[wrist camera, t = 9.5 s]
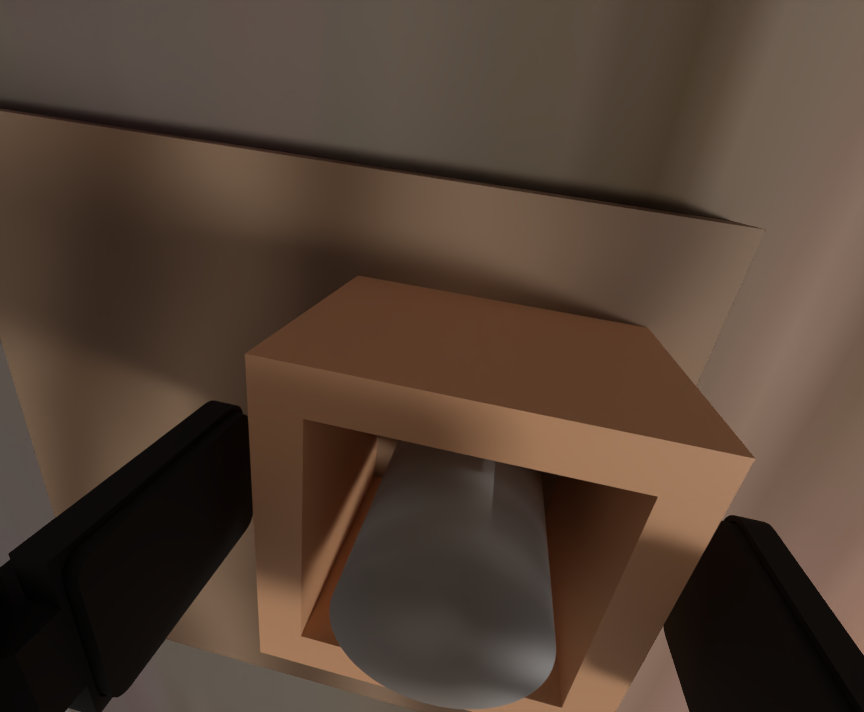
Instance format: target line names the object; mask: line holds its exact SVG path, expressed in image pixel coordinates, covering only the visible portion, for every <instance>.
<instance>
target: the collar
mask: <svg viewBox="0 0 864 712" xmlns="http://www.w3.org/2000/svg"><path fill="white" fill-rule="evenodd" d="M245 367H246V387H247V406H248V425H249V444H250V463H251V482H252V501H253V521H254V540H255V559H256V578H257V597H258V616H259V635H260V652H262V653H265V654H269V655H273V656H276V657H280V658H283V659H287V660H290V661H294V662H297V663H301V664H305V665H308V666H312V667H315V668H319V669H322V670H326V671H329V672H333V673H336V674H340V675H344V676H347V677H351V678H354V679H358V680H361V681H365V682H368V683H372V684H376V685H379V686H383V685H381V684H380V683H378V682H376V681H375V680H373V679H372V678H371V677H369V676H368V675H367V674H365V673H364V672H363V671H362V670H361V669H359V668H358V667H357V666H356V665H355V664H354V663H353V662H352V661H351V660H350V659H349V657H348V656H347V655H346V654H345V652H344V651H343V650H342V648H341V647H340V645H339V643H338V641H337V640H336V638H335V635H334V633H333V630H332V627H331V622H330V612H329V609H330V602H331V598H332V595H333V593H334V590H335V588H336V585H337V583H338V581H339V578H340V576H341V574H342V571H343V569H344V567H345V564H346V562H347V560H348V557H349V555H350V553H351V550H352V548H353V546H354V543H355V541H356V539H357V536H358V534H359V532H360V529H361V527H362V525H363V522H364V520H365V518H366V515H367V513H368V511H369V508H370V506H371V504H372V501H373V499H374V497H375V494H376V492H377V490H378V487H379V485H380V483H381V480H382V478H380V477H375V476H374V472H375V462H376V452H377V442H378V435H379V436H383V437H388V438H392V439H397V440H402V441H406V442H411V443H415V444H420V445H424V446H429V447H434V448H438V449H443V450H447V451H452V452H456V453H461V454H465V455H470V456H475V457H479V458H484V459H488V460H493V461H497V462H502V463H506V464H511V465H516V466H520V467H525V468H529V469H534V470H538V471H543V472H548V473H552V474H557V475H558V478H557V481H556V484H555V488H554V491H553V494H552V497H551V500H550V503H549V506H548V509H547V512H546V515H545V521H546V533H547V545H548V557H549V569H550V581H551V593H552V605H553V617H554V629H555V641H556V657H555V662H554V665H553V669H552V671H551V672H550V674H549V676H548V678H547V679H546V680H545V681H544V683H543V684H542V685H541V686H540V687H539V688H538V689H536V690H535V691H534V692H533V693H531V694H530V695H528V696H526V697H525V698H523V699H520V700H518V701H516V702H513V703H510V704H507V705H503V706H499V707H494V708H487V709H464V710H468V711H471V712H616V710H617V708H618V707H619V705H620V703H621V701H622V699H623V698H624V696H625V694H626V692H627V690H628V689H629V687H630V685H631V683H632V681H633V679H634V678H635V676H636V674H637V672H638V670H639V669H640V667H641V665H642V663H643V661H644V660H645V658H646V656H647V654H648V652H649V650H650V649H651V647H652V645H653V643H654V641H655V640H656V638H657V636H658V634H659V632H660V631H661V629H662V627H663V625H664V623H665V621H666V620H667V618H668V616H669V614H670V612H671V611H672V609H673V607H674V605H675V603H676V602H677V600H678V598H679V596H680V594H681V593H682V591H683V589H684V587H685V585H686V583H687V582H688V580H689V578H690V576H691V574H692V573H693V571H694V569H695V567H696V565H697V564H698V562H699V560H700V558H701V556H702V554H703V553H704V551H705V549H706V547H707V545H708V544H709V542H710V540H711V538H712V536H713V535H714V533H715V531H716V529H717V527H718V525H719V524H720V522H721V520H722V518H723V516H724V515H725V513H726V511H727V509H728V507H729V506H730V504H731V502H732V500H733V498H734V497H735V495H736V493H737V491H738V489H739V487H740V486H741V484H742V482H743V480H744V478H745V477H746V475H747V473H748V471H749V469H750V468H751V466H752V464H753V462H754V460H755V458H754V457H753V455H752V454H751V453H750V452H749V450H748V449H747V448H746V447H745V446H744V444H743V443H742V442H741V441H740V439H739V438H738V437H737V436H736V435H735V433H734V432H733V431H732V430H731V428H730V427H729V426H728V425H727V424H726V422H725V421H724V420H723V419H722V417H721V416H720V415H719V414H718V413H717V411H716V410H715V409H714V408H713V406H712V405H711V404H710V403H709V402H708V400H707V399H706V398H705V397H704V395H703V394H702V393H701V392H700V391H699V389H698V388H697V387H696V386H695V384H694V383H693V382H692V381H691V380H690V378H689V377H688V376H687V375H686V373H685V372H684V371H683V370H682V369H681V367H680V366H679V365H678V364H677V362H676V361H675V360H674V359H673V358H672V356H671V355H670V354H669V353H668V352H667V350H666V349H665V348H664V347H663V345H662V344H661V343H660V342H659V341H658V339H657V338H656V337H655V336H654V334H653V333H652V332H651V331H650V330H649V328H647V327H641V326H636V325H630V324H625V323H619V322H614V321H608V320H602V319H597V318H591V317H586V316H580V315H575V314H569V313H564V312H558V311H552V310H547V309H541V308H536V307H530V306H525V305H519V304H514V303H508V302H503V301H497V300H491V299H486V298H480V297H475V296H469V295H464V294H458V293H453V292H447V291H442V290H436V289H430V288H425V287H419V286H414V285H408V284H403V283H397V282H392V281H386V280H381V279H375V278H369V277H364V276H357V277H355V278H354V279H352V280H351V281H349V282H348V283H346V284H345V285H344V286H342V287H341V288H339V289H338V290H336V291H335V292H333V293H332V294H331V295H329V296H328V297H326V298H325V299H323V300H322V301H320V302H319V303H318V304H316V305H315V306H313V307H312V308H310V309H309V310H307V311H306V312H304V313H303V314H302V315H300V316H299V317H297V318H296V319H294V320H293V321H291V322H290V323H289V324H287V325H286V326H284V327H283V328H281V329H280V330H278V331H277V332H276V333H274V334H273V335H271V336H270V337H268V338H267V339H265V340H264V341H262V342H261V343H260V344H258V345H257V346H255V347H254V348H252V349H251V350H249V351H248V352H247V353H245ZM383 687H385V686H383Z"/></svg>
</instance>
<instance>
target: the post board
mask: <svg viewBox="0 0 864 712" xmlns="http://www.w3.org/2000/svg"><path fill="white" fill-rule="evenodd" d="M765 231H766V230H765V229H761V228H757V227H754V226H750V225H746V224H742V223H738V222H734V221H728V220H721V219H715V218H708V217H702V216H695V215H689V214H682V213H676V212H669V211H663V210H656V209H650V208H644V207H637V206H631V205H624V204H618V203H611V202H605V201H598V200H592V199H585V198H579V197H572V196H566V195H559V194H553V193H546V192H540V191H533V190H527V189H520V188H514V187H507V186H501V185H494V184H488V183H481V182H475V181H468V180H462V179H456V178H449V177H443V176H436V175H430V174H423V173H417V172H410V171H404V170H397V169H391V168H384V167H378V166H371V165H365V164H358V163H352V162H345V161H339V160H332V159H326V158H319V157H313V156H306V155H300V154H293V153H287V152H280V151H274V150H268V149H261V148H255V147H248V146H242V145H235V144H229V143H222V142H216V141H209V140H203V139H196V138H190V137H183V136H177V135H170V134H164V133H157V132H151V131H144V130H138V129H131V128H125V127H118V126H112V125H105V124H99V123H92V122H86V121H79V120H73V119H67V118H60V117H54V116H47V115H41V114H34V113H28V112H21V111H15V110H8V109H2V108H0V339H1V342H2V345H3V348H4V352H5V355H6V358H7V362H8V365H9V368H10V371H11V375H12V378H13V381H14V384H15V388H16V391H17V394H18V398H19V401H20V404H21V407H22V411H23V414H24V417H25V420H26V424H27V427H28V430H29V434H30V437H31V440H32V443H33V447H34V450H35V453H36V456H37V460H38V463H39V466H40V470H41V473H42V476H43V479H44V483H45V486H46V489H47V493H48V496H49V499H50V502H51V506H52V509H53V512H54V515H55V518H56V517H57V516H58V515H60V514H61V513H62V512H64V511H65V510H66V509H68V508H69V507H70V506H72V505H73V504H74V503H76V502H77V501H78V500H79V499H81V498H82V497H83V496H85V495H86V494H87V493H89V492H90V491H91V490H93V489H94V488H95V487H96V486H98V485H99V484H100V483H102V482H103V481H104V480H106V479H107V478H108V477H110V476H111V475H112V474H114V473H115V472H116V471H117V470H119V469H120V468H121V467H123V466H124V465H125V464H127V463H128V462H129V461H131V460H132V459H133V458H134V457H136V456H137V455H138V454H140V453H141V452H142V451H144V450H145V449H146V448H148V447H149V446H150V445H152V444H153V443H154V442H155V441H157V440H158V439H159V438H161V437H162V436H163V435H165V434H166V433H167V432H169V431H170V430H171V429H172V428H174V427H175V426H176V425H178V424H179V423H180V422H182V421H183V420H184V419H186V418H187V417H188V416H190V415H191V414H192V413H193V412H195V411H196V410H197V409H199V408H200V407H201V406H203V405H204V404H205V403H207V402H209V401H211V400H215V401H220V402H224V403H229V404H233V405H238V406H239V407H241V409H242V411H243V414H245V415H247V416H248V406H247V387H246V367H245V353H247V352H248V351H249V350H251V349H252V348H254V347H255V346H257V345H258V344H260V343H261V342H262V341H264V340H265V339H267V338H268V337H270V336H271V335H273V334H274V333H276V332H277V331H278V330H280V329H281V328H283V327H284V326H286V325H287V324H289V323H290V322H291V321H293V320H294V319H296V318H297V317H299V316H300V315H302V314H303V313H304V312H306V311H307V310H309V309H310V308H312V307H313V306H315V305H316V304H318V303H319V302H320V301H322V300H323V299H325V298H326V297H328V296H329V295H331V294H332V293H333V292H335V291H336V290H338V289H339V288H341V287H342V286H344V285H345V284H346V283H348V282H349V281H351V280H352V279H354V278H355V277H357V276H364V277H369V278H375V279H381V280H386V281H392V282H397V283H403V284H408V285H414V286H419V287H425V288H430V289H436V290H442V291H447V292H453V293H458V294H464V295H469V296H475V297H480V298H486V299H491V300H497V301H503V302H508V303H514V304H519V305H525V306H530V307H536V308H541V309H547V310H552V311H558V312H564V313H569V314H575V315H580V316H586V317H591V318H597V319H602V320H608V321H614V322H619V323H625V324H630V325H636V326H641V327H647V328H649V330H650V331H651V332H652V333H653V334H654V336H655V337H656V338H657V339H658V341H659V342H660V343H661V344H662V345H663V347H664V348H665V349H666V350H667V352H668V353H669V354H670V355H671V356H672V358H673V359H674V360H675V361H676V362H677V364H678V365H679V366H680V367H681V369H682V370H683V371H684V372H685V373H686V375H687V376H688V377H689V378H690V380H691V381H692V382H693V383H694V384H695V386H697V383H698V381H699V379H700V377H701V374H702V372H703V370H704V368H705V366H706V363H707V361H708V359H709V357H710V354H711V352H712V350H713V348H714V345H715V343H716V341H717V339H718V336H719V334H720V332H721V330H722V327H723V325H724V323H725V321H726V318H727V316H728V314H729V312H730V309H731V307H732V305H733V303H734V300H735V298H736V296H737V294H738V291H739V289H740V287H741V285H742V282H743V280H744V278H745V276H746V273H747V271H748V269H749V267H750V264H751V262H752V260H753V258H754V255H755V253H756V251H757V249H758V246H759V244H760V242H761V240H762V237H763V235H764V233H765ZM374 476H375V477H380V478H382V480H381V483H380V485H379V487H378V490H377V492H376V494H375V497H374V499H373V501H372V504H371V506H370V508H369V511H368V513H367V515H366V518H365V520H364V522H363V525H362V527H361V529H360V532H359V534H358V536H357V539H356V541H355V543H354V546H353V548H352V550H351V553H350V555H349V557H348V560H347V562H346V564H345V567H344V569H343V571H342V574H341V576H340V578H339V581H338V583H337V585H336V588H335V590H334V593H333V595H332V598H331V602H330V609H329V612H330V622H331V627H332V630H333V633H334V635H335V638H336V640H337V641H338V643H339V645H340V647H341V648H342V650H343V651H344V652H345V654H346V655H347V656H348V657H349V659H350V660H351V661H352V662H353V663H354V664H355V665H356V666H357V667H358V668H359V669H361V670H362V671H363V672H364V673H365V674H367V675H368V676H369V677H371V678H372V679H373V680H375V681H376V682H378V683H380V684H381V685H383V686H385V687H383V686H379V685H376V684H372V683H368V682H365V681H361V680H358V679H354V678H351V677H347V676H344V675H340V674H336V673H333V672H329V671H326V670H322V669H319V668H315V667H312V666H308V665H305V664H301V663H297V662H294V661H290V660H287V659H283V658H280V657H276V656H273V655H269V654H265V653H262V652H260V635H259V616H258V597H257V578H256V559H255V540H254V521H253V517H252V520H251V523H250V525H249V527H248V528H247V530H246V531H245V532H244V534H243V535H242V537H241V538H240V539H239V541H238V542H237V543H236V545H235V546H234V547H233V549H232V550H231V551H230V553H229V554H228V555H227V557H226V558H225V559H224V561H223V562H222V564H221V565H220V566H219V568H218V569H217V570H216V572H215V573H214V574H213V576H212V577H211V578H210V580H209V581H208V582H207V584H206V585H205V586H204V588H203V589H202V590H201V592H200V593H199V595H198V596H197V597H196V599H195V600H194V601H193V603H192V604H191V605H190V607H189V608H188V609H187V611H186V612H185V613H184V615H183V616H182V617H181V619H180V620H179V621H178V623H177V624H176V626H175V627H174V628H173V630H172V631H171V632H170V634H169V635H168V636H167V638H166V639H167V640H171V641H174V642H178V643H181V644H185V645H188V646H192V647H195V648H199V649H202V650H206V651H209V652H213V653H216V654H220V655H223V656H227V657H230V658H234V659H237V660H241V661H244V662H248V663H251V664H255V665H258V666H262V667H265V668H269V669H272V670H276V671H279V672H283V673H286V674H290V675H293V676H297V677H300V678H304V679H307V680H311V681H314V682H318V683H321V684H325V685H328V686H332V687H335V688H339V689H342V690H346V691H349V692H353V693H356V694H360V695H363V696H367V697H370V698H374V699H377V700H381V701H384V702H388V703H391V704H394V705H398V706H401V707H405V708H408V709H412V710H415V711H419V712H471V711H468V710H464V709H487V708H494V707H499V706H503V705H507V704H510V703H513V702H516V701H518V700H520V699H523V698H525V697H526V696H528V695H530V694H531V693H533V692H534V691H535V690H536V689H538V688H539V687H540V686H541V685H542V684H543V683H544V681H545V680H546V679H547V678H548V676H549V674H550V672H551V671H552V669H553V665H554V662H555V657H556V641H555V629H554V617H553V605H552V593H551V581H550V569H549V557H548V545H547V533H546V521H545V515H546V512H547V509H548V506H549V503H550V500H551V497H552V494H553V491H554V488H555V484H556V481H557V478H558V475H557V474H552V473H548V472H543V471H538V470H534V469H529V468H525V467H520V466H516V465H511V464H506V463H502V462H497V461H493V460H488V459H484V458H479V457H475V456H470V455H465V454H461V453H456V452H452V451H447V450H443V449H438V448H434V447H429V446H424V445H420V444H415V443H411V442H406V441H402V440H397V439H392V438H388V437H383V436H379V435H378V442H377V452H376V462H375V472H374Z"/></svg>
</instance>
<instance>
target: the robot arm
mask: <svg viewBox="0 0 864 712" xmlns="http://www.w3.org/2000/svg"><path fill="white" fill-rule="evenodd" d="M252 517H253V501H252V482H251V463H250V444H249V425H248V416H247V415H245V414H243V411H242V409H241V407H239V406H238V405H233V404H229V403H224V402H220V401H215V400H211V401H209V402H207V403H205V404H204V405H203V406H201V407H200V408H199V409H197V410H196V411H195V412H193V413H192V414H191V415H190V416H188V417H187V418H186V419H184V420H183V421H182V422H180V423H179V424H178V425H176V426H175V427H174V428H172V429H171V430H170V431H169V432H167V433H166V434H165V435H163V436H162V437H161V438H159V439H158V440H157V441H155V442H154V443H153V444H152V445H150V446H149V447H148V448H146V449H145V450H144V451H142V452H141V453H140V454H138V455H137V456H136V457H134V458H133V459H132V460H131V461H129V462H128V463H127V464H125V465H124V466H123V467H121V468H120V469H119V470H117V471H116V472H115V473H114V474H112V475H111V476H110V477H108V478H107V479H106V480H104V481H103V482H102V483H100V484H99V485H98V486H96V487H95V488H94V489H93V490H91V491H90V492H89V493H87V494H86V495H85V496H83V497H82V498H81V499H79V500H78V501H77V502H76V503H74V504H73V505H72V506H70V507H69V508H68V509H66V510H65V511H64V512H62V513H61V514H60V515H58V516H57V517H56V518H55V519H53V520H52V521H51V522H49V523H48V524H47V525H45V526H44V527H43V528H41V529H40V530H39V531H38V532H36V533H35V534H34V535H32V536H31V537H30V538H28V539H27V540H26V541H24V542H23V543H22V544H20V545H19V546H18V547H17V548H15V549H14V550H13V551H11V552H10V553H9V557H10V560H9V561H8V562H6V563H5V564H4V565H3V566H1V567H0V712H65V711H66V710H67V709H68V708H71V709H74V710H77V711H80V712H102V711H103V709H104V708H105V707H106V705H107V704H108V703H109V701H110V700H111V699H112V697H119V696H121V695H122V694H123V693H125V692H126V691H127V690H128V688H129V687H130V686H131V685H132V684H133V682H134V681H135V679H136V678H137V677H138V675H139V674H140V673H141V671H142V670H143V669H144V667H145V666H146V665H147V663H148V662H149V661H150V659H151V658H152V657H153V655H154V654H155V653H156V651H157V650H158V648H159V647H160V646H161V644H162V643H163V642H164V640H165V639H166V638H167V636H168V635H169V634H170V632H171V631H172V630H173V628H174V627H175V626H176V624H177V623H178V621H179V620H180V619H181V617H182V616H183V615H184V613H185V612H186V611H187V609H188V608H189V607H190V605H191V604H192V603H193V601H194V600H195V599H196V597H197V596H198V595H199V593H200V592H201V590H202V589H203V588H204V586H205V585H206V584H207V582H208V581H209V580H210V578H211V577H212V576H213V574H214V573H215V572H216V570H217V569H218V568H219V566H220V565H221V564H222V562H223V561H224V559H225V558H226V557H227V555H228V554H229V553H230V551H231V550H232V549H233V547H234V546H235V545H236V543H237V542H238V541H239V539H240V538H241V537H242V535H243V534H244V532H245V531H246V530H247V528H248V527H249V525H250V523H251V520H252ZM664 632H665V636H666V640H667V643H668V646H669V649H670V652H671V655H672V658H673V662H674V665H675V668H676V671H677V674H678V677H679V680H680V684H681V687H682V690H683V693H684V696H685V699H686V702H687V706H688V709H689V712H864V655H863V654H862V652H861V651H860V650H859V648H858V647H857V645H856V644H855V643H854V641H853V640H852V638H851V637H850V636H849V634H848V633H847V631H846V630H845V628H844V627H843V626H842V624H841V623H840V621H839V620H838V619H837V617H836V616H835V614H834V613H833V612H832V610H831V609H830V607H829V606H828V605H827V603H826V602H825V600H824V599H823V598H822V596H821V595H820V593H819V592H818V591H817V589H816V588H815V586H814V585H813V583H812V582H811V581H810V579H809V578H808V576H807V575H806V574H805V572H804V571H803V569H802V568H801V567H800V565H799V564H798V562H797V561H796V560H795V558H794V557H793V555H792V554H791V553H790V551H789V550H788V548H787V547H786V545H785V544H784V543H783V541H782V540H781V538H780V537H779V536H778V534H777V533H776V531H775V530H774V529H773V528H772V527H771V526H770V525H769V524H768V523H765V522H762V521H758V520H753V519H748V518H744V517H739V516H735V515H730V516H728V517H726V518H725V519H724V521H721V522H720V524H719V525H718V527H717V529H716V531H715V533H714V535H713V536H712V538H711V540H710V542H709V544H708V545H707V547H706V549H705V551H704V553H703V554H702V556H701V558H700V560H699V562H698V564H697V565H696V567H695V569H694V571H693V573H692V574H691V576H690V578H689V580H688V582H687V583H686V585H685V587H684V589H683V591H682V593H681V594H680V596H679V598H678V600H677V602H676V603H675V605H674V607H673V609H672V611H671V612H670V614H669V616H668V618H667V620H666V621H665V623H664Z"/></svg>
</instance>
